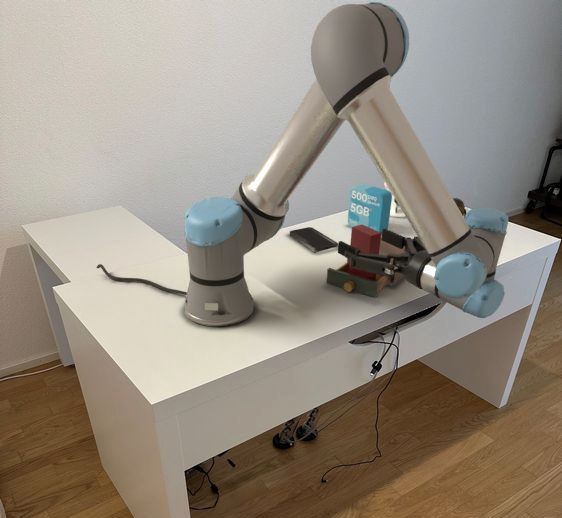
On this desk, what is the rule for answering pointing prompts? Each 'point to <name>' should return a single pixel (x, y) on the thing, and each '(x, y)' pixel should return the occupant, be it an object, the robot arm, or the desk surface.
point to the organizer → (390, 249)
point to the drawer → (356, 281)
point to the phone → (313, 239)
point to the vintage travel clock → (460, 206)
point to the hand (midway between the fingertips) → (361, 240)
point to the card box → (365, 247)
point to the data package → (369, 207)
